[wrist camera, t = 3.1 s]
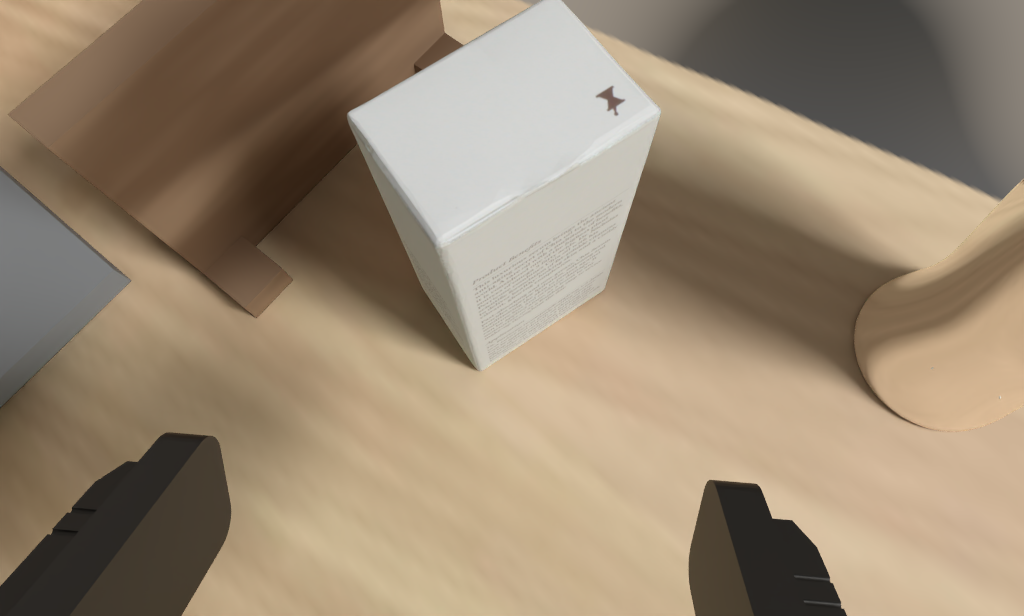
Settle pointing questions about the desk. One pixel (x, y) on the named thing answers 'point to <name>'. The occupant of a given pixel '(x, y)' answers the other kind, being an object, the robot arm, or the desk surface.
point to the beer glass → (952, 330)
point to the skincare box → (510, 174)
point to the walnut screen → (227, 115)
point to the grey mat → (43, 284)
